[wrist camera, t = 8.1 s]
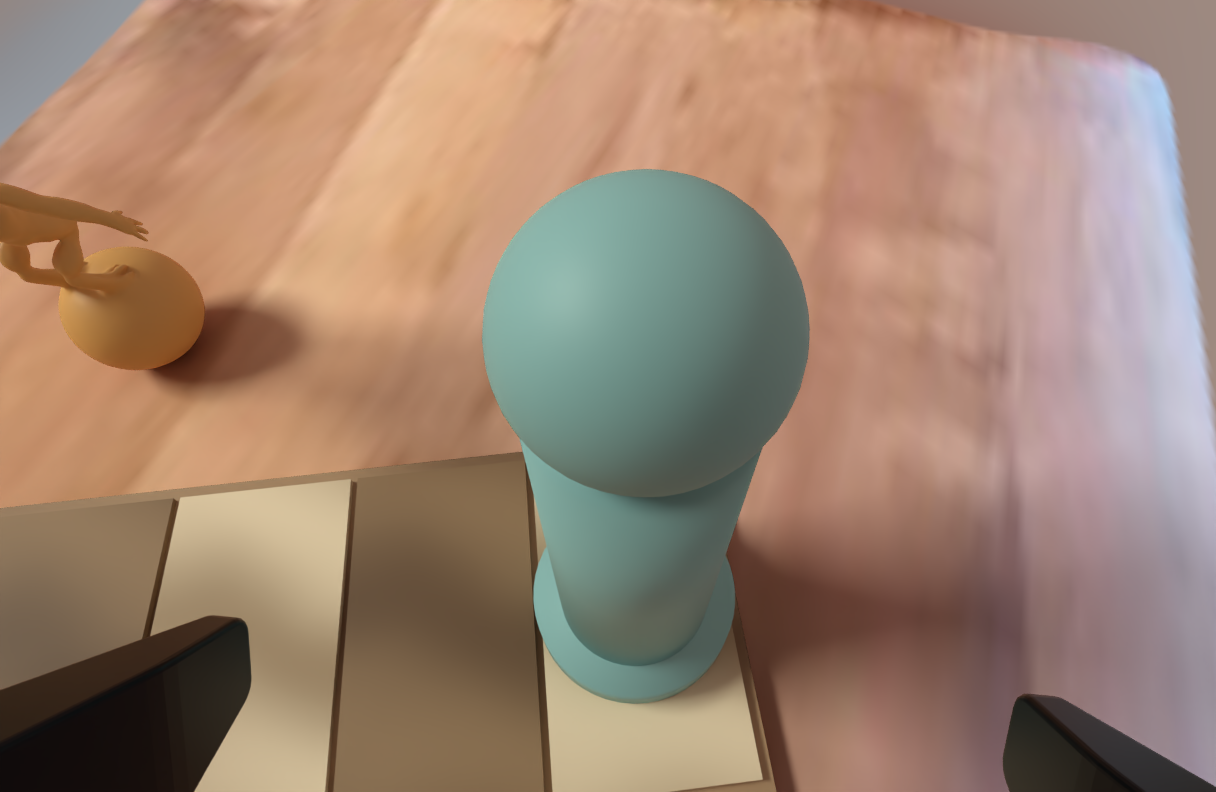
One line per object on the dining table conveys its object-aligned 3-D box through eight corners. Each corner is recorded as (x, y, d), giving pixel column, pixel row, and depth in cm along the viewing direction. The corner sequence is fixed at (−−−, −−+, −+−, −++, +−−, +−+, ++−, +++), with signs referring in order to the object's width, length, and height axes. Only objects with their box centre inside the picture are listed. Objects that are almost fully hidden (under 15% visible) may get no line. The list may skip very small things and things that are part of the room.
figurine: (301, 311, 26) (94, -33, 16) (232, 461, 23) (-79, 150, 13) (86, 290, 27) (-243, -53, 17) (-9, 431, 24) (-486, 116, 14)
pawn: (748, 690, 18) (977, 398, 7) (543, 715, 18) (393, 460, 6) (710, 501, 21) (822, 54, 9) (532, 521, 21) (411, 88, 9)
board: (774, 798, 18) (779, 796, 17) (-130, 917, 17) (-158, 919, 16) (700, 440, 23) (702, 429, 22) (9, 515, 22) (-8, 505, 21)
